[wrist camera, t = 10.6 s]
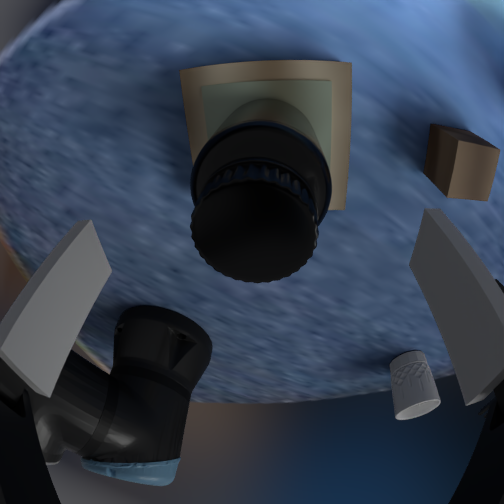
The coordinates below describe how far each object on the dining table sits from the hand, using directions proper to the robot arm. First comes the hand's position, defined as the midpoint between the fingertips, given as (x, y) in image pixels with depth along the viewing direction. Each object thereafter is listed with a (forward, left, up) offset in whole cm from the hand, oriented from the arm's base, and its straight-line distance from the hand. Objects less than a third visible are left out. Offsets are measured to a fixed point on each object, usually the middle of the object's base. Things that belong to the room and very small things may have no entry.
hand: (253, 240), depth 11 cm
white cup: (+23, -37, -16) cm, 46 cm away
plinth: (0, 0, -15) cm, 15 cm away
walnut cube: (+17, -1, -15) cm, 23 cm away
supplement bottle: (0, 0, -12) cm, 12 cm away
